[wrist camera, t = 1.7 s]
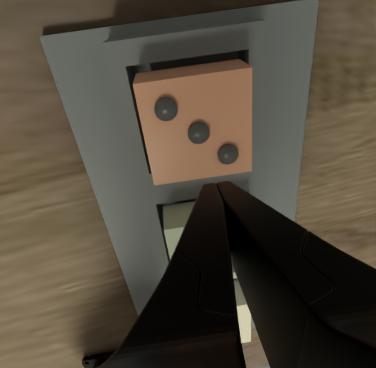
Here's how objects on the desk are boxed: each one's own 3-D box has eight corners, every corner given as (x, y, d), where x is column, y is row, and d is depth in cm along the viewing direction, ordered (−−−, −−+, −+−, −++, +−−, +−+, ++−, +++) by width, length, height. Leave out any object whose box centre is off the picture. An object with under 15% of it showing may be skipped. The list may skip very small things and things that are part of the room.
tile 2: (242, 250, 21) (252, 278, 19) (174, 260, 21) (176, 289, 18) (241, 194, 18) (252, 219, 16) (163, 205, 18) (163, 232, 16)
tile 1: (243, 315, 25) (251, 344, 23) (187, 324, 25) (189, 353, 23) (242, 277, 22) (251, 306, 20) (179, 287, 22) (182, 316, 20)
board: (283, 300, 28) (293, 324, 26) (141, 321, 28) (140, 347, 26) (314, -2, 15) (341, -4, 12) (42, 35, 14) (22, 40, 12)
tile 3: (240, 151, 16) (252, 173, 14) (154, 164, 16) (154, 187, 14) (238, 58, 14) (253, 68, 12) (136, 73, 14) (132, 85, 12)
